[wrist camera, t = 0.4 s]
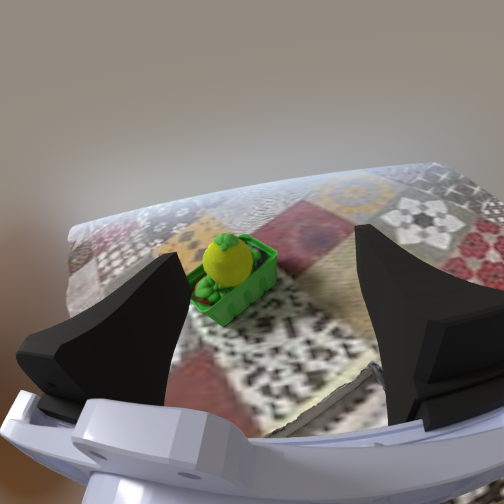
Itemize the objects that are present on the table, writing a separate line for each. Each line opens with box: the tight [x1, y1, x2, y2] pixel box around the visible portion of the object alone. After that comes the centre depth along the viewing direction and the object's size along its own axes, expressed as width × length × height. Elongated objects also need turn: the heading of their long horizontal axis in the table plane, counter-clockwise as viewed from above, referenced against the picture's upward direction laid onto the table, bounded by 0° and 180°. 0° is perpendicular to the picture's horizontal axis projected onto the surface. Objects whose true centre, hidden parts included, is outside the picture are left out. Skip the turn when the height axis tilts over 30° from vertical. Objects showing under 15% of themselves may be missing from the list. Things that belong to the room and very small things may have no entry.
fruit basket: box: [186, 233, 277, 327], centre depth 36 cm, size 11×9×11 cm
